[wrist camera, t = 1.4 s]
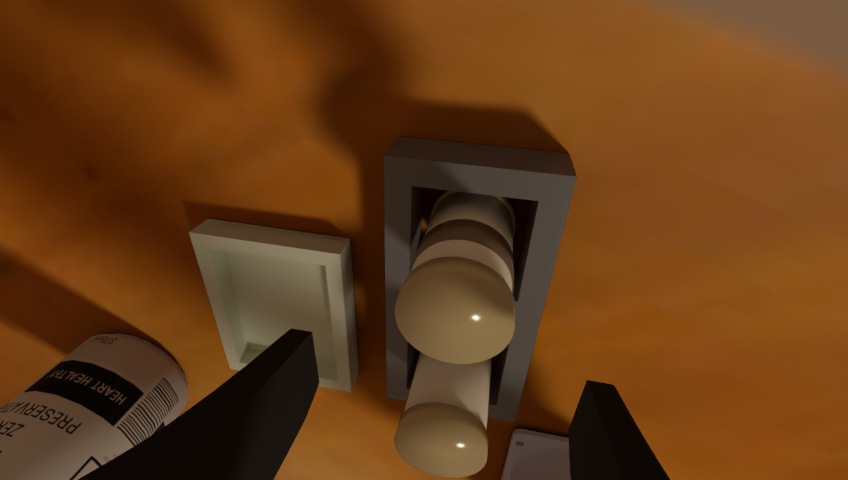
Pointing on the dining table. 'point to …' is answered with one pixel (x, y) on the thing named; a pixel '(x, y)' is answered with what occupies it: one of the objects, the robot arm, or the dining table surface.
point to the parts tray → (280, 293)
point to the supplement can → (90, 409)
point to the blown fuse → (462, 280)
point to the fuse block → (550, 198)
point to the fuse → (446, 418)
